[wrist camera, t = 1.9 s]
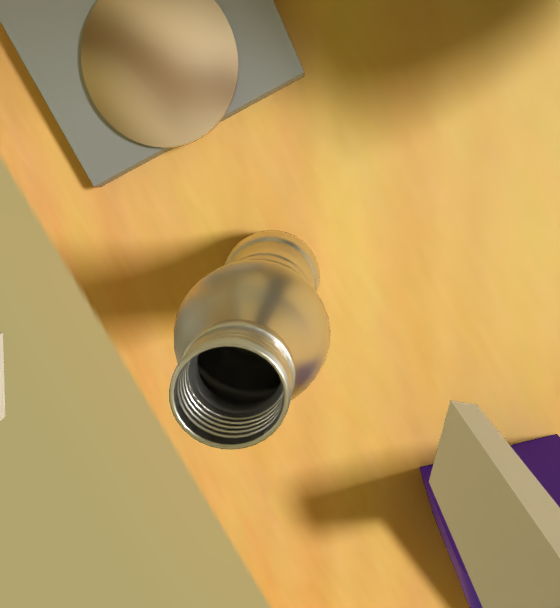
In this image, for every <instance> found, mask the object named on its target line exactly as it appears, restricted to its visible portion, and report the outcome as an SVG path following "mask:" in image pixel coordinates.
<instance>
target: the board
mask: <svg viewBox="0 0 560 608" xmlns="http://www.w3.org/2000/svg"><path fill="white" fill-rule="evenodd" d="M97 1H98V0H0V22H1V24H2V26H3V27H4V29H5V31H6V33H7V34H8V36H9V38H10V40H11V41H12V43H13V45H14V47H15V48H16V50H17V52H18V54H19V56H20V57H21V59H22V61H23V63H24V64H25V66H26V68H27V70H28V71H29V73H30V75H31V77H32V78H33V80H34V82H35V84H36V86H37V87H38V89H39V91H40V93H41V94H42V96H43V98H44V100H45V101H46V103H47V105H48V107H49V108H50V110H51V112H52V114H53V116H54V117H55V119H56V121H57V123H58V124H59V126H60V128H61V130H62V131H63V133H64V135H65V137H66V139H67V140H68V142H69V144H70V146H71V147H72V149H73V151H74V153H75V154H76V156H77V158H78V160H79V161H80V163H81V165H82V167H83V169H84V170H85V172H86V174H87V176H88V177H89V179H90V181H91V183H92V184H93V186H94V187H102V186H104V185H105V184H107V183H109V182H111V181H113V180H115V179H116V178H118V177H120V176H122V175H124V174H126V173H127V172H129V171H131V170H133V169H135V168H137V167H138V166H140V165H142V164H144V163H146V162H148V161H150V160H151V159H153V158H155V157H157V156H159V155H161V154H162V153H164V152H166V151H168V150H170V149H172V148H173V147H172V148H160V147H153V146H148V145H144V144H141V143H138V142H136V141H133V140H132V139H130V138H128V137H126V136H124V135H123V134H121V133H120V132H118V131H117V130H116V129H115V128H114V127H113V126H111V125H110V124H109V123H108V122H107V120H106V119H105V118H104V117H103V116H102V115H101V113H100V112H99V110H98V109H97V108H96V106H95V104H94V102H93V100H92V99H91V97H90V94H89V92H88V89H87V87H86V84H85V80H84V76H83V71H82V64H81V45H82V37H83V32H84V28H85V25H86V22H87V19H88V17H89V15H90V13H91V11H92V9H93V7H94V6H95V4H96V3H97ZM215 2H216V3H217V4H218V5H219V7H220V8H221V10H222V11H223V13H224V15H225V16H226V18H227V20H228V23H229V25H230V27H231V29H232V32H233V35H234V38H235V41H236V46H237V51H238V61H239V70H238V80H237V87H236V90H235V94H234V97H233V100H232V102H231V104H230V106H229V108H228V110H227V112H226V113H225V115H224V117H223V118H222V119H221V121H223V120H225V119H227V118H228V117H230V116H232V115H234V114H236V113H238V112H239V111H241V110H243V109H245V108H247V107H249V106H250V105H252V104H254V103H256V102H258V101H260V100H261V99H263V98H265V97H267V96H269V95H271V94H273V93H274V92H276V91H278V90H280V89H282V88H284V87H285V86H287V85H289V84H291V83H293V82H295V81H296V80H298V79H300V78H302V77H304V70H303V68H302V65H301V63H300V61H299V58H298V56H297V54H296V51H295V49H294V47H293V44H292V42H291V40H290V38H289V35H288V33H287V31H286V28H285V26H284V24H283V21H282V19H281V17H280V14H279V12H278V10H277V7H276V5H275V3H274V0H215ZM221 121H220V122H221Z"/></svg>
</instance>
